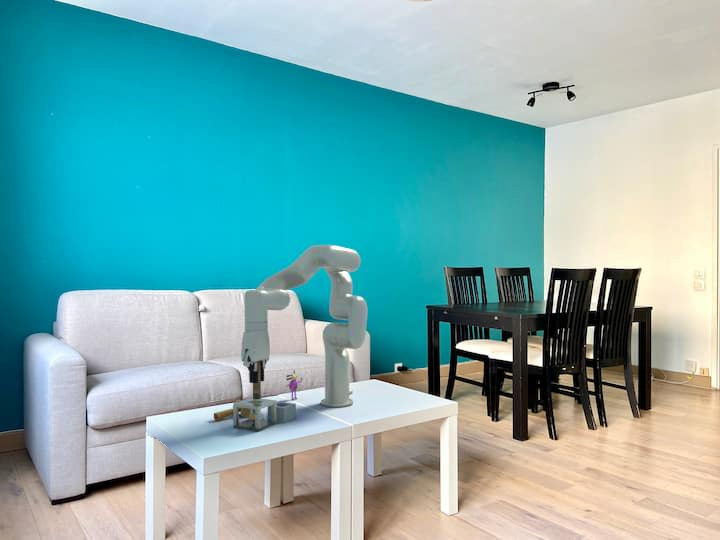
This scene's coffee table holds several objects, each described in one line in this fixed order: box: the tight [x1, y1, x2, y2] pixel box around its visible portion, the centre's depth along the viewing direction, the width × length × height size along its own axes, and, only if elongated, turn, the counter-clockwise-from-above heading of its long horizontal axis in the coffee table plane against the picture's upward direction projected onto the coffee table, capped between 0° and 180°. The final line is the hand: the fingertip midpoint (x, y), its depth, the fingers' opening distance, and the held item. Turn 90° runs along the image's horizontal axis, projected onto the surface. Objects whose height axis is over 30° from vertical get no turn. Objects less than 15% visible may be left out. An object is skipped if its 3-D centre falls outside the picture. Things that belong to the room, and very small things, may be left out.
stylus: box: [252, 361, 262, 400], centre depth 177 cm, size 3×3×15 cm
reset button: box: [248, 414, 255, 422], centre depth 177 cm, size 4×4×2 cm
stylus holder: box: [266, 401, 297, 424], centre depth 185 cm, size 7×7×5 cm
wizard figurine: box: [284, 369, 303, 401], centre depth 215 cm, size 11×3×12 cm, turn 151°
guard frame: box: [232, 396, 278, 433], centre depth 177 cm, size 10×10×8 cm
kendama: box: [213, 396, 257, 422], centre depth 189 cm, size 8×6×18 cm
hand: (256, 381), depth 177 cm, fingers closed on stylus, 2 cm apart
